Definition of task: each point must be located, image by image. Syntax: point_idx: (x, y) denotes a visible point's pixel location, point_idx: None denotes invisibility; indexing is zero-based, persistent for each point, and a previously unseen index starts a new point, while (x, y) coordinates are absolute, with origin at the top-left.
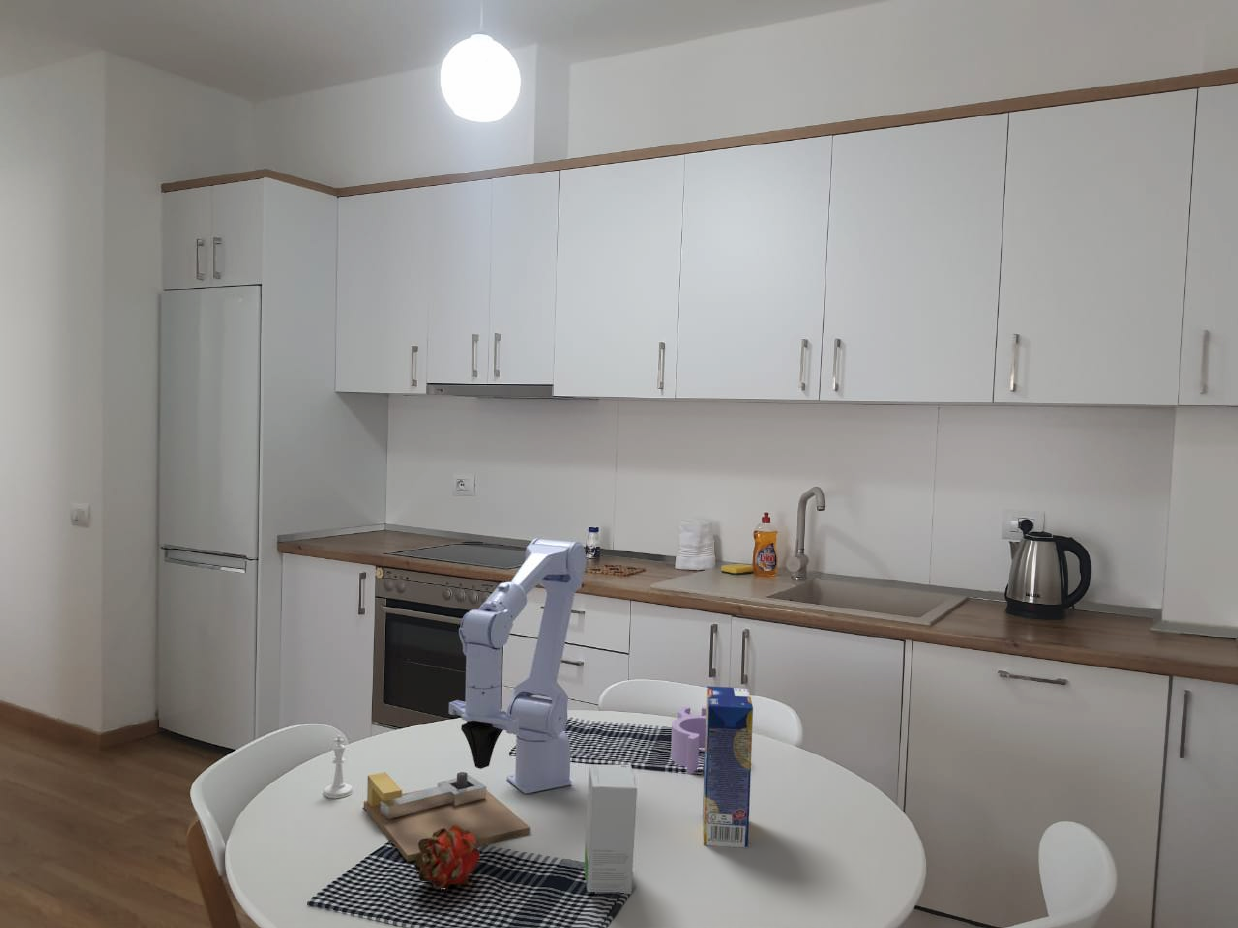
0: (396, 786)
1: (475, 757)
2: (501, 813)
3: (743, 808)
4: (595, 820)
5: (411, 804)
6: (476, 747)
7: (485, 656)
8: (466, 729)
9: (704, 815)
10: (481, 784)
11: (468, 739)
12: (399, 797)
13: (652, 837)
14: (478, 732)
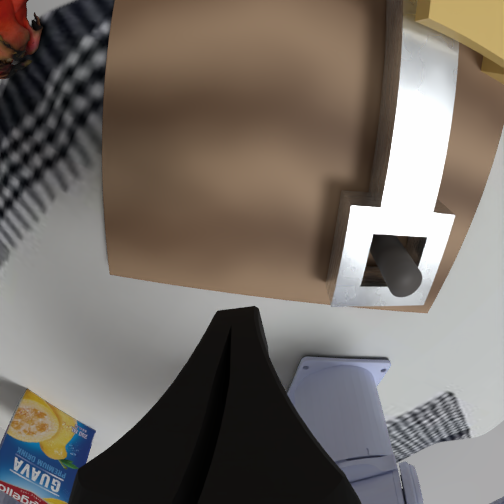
0: (466, 30)
1: (231, 340)
2: (217, 266)
3: (5, 432)
4: None
5: (395, 57)
6: (202, 391)
7: None
8: (242, 502)
9: (28, 419)
10: (351, 302)
11: (276, 418)
12: (416, 13)
13: (51, 374)
14: (78, 489)
